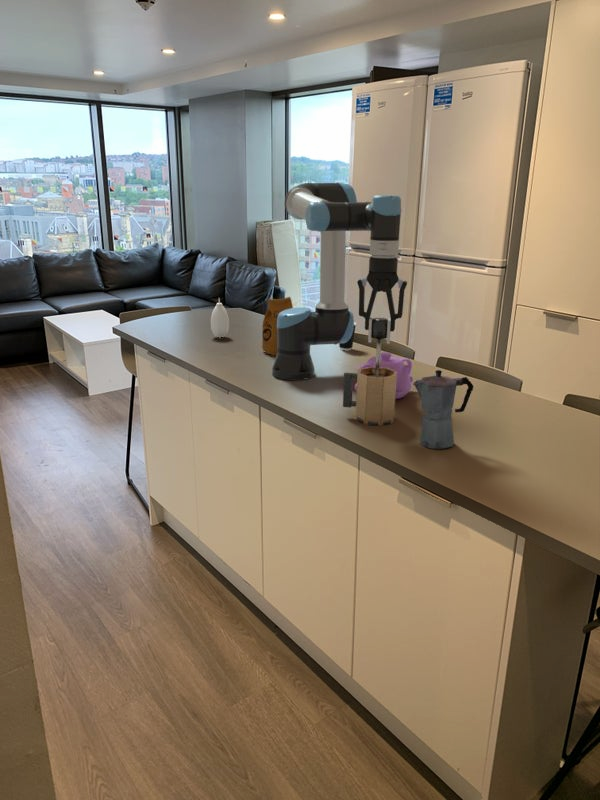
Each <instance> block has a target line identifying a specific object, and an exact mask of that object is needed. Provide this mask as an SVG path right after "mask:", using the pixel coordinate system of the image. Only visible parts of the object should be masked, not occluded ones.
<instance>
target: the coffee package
mask: <svg viewBox="0 0 600 800" xmlns="http://www.w3.org/2000/svg"><path fill="white" fill-rule="evenodd" d="M267 304H268V305H267V308H266V312H265V314H264V318H263V321H262V325H261V326H262V331H261V332H262V334H261V335H262V342H261V343H262V346H261V348H262V351H263V352H264V351H265V352H264V353H266V352H267V353H266V354H268V355H269V354H271V356H276V355H277V317H278V314H279V313H280V312H282V311H284V310H287V309H291V308H294V307H293V301H292V298H291V296H287V297H285V298H282V299H277V298H267Z"/></svg>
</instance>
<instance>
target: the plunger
mask: <svg viewBox="0 0 600 800" xmlns="http://www.w3.org/2000/svg"><path fill="white" fill-rule="evenodd" d="M372 318H373V319H372V335H371V337H372V339H375V340H376V351H375V353H376V354H375V356H376V368H375V375H368V376H369V377H387V376H383V375H379V373H380V356H381V353H382V350H381V349H382V340H385V339H386V340H387V326H388V319H389V318H385V317H372Z"/></svg>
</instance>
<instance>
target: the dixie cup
mask: <svg viewBox="0 0 600 800" xmlns="http://www.w3.org/2000/svg"><path fill="white" fill-rule="evenodd" d="M356 325H357V322H355V321H354V328H353V332H352V336H351V338H350V339H349V340H348V341H347V342H346V343H340V344H338V345H339V346H338V347H339V350H340V351H343V350H345V352H349V350H350V351H352V350H353V346H354V341H355V340H354V338H355V331H356ZM351 349H352V350H351Z"/></svg>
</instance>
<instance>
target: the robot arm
mask: <svg viewBox="0 0 600 800" xmlns="http://www.w3.org/2000/svg"><path fill="white" fill-rule="evenodd" d="M284 209H285V210H286V212H287V214H289V216H290V217H291V218H294V219H296V220H303V221H305V224H306V227H307V229H308V230H309V231H311V232H320V254H319V255H320V260H319V261H320V262H319V264H320V265H319V268H320V269H319V301H318V303H317V304H316V305H315V307H314V308H315V309H314V310H315V311H312V310H311V309H310V308H309V307H293V308H291V309H287V310H284V311H282V312H280V313H279V314H278V317H277V355H275V359H274V362H273V365H272V369H271V370H272V372H271V373H272V376H273V377H274V378H277V379H281V380H286V381H302V380H307V379H311V378H313V377H314V376H315V371H316V370H315V365H314V362H313V359H312V356H311V346H320V345H321V346H322V345H323V346H324V345H339V344H340V343H346V342H347V341H348V340H349V339H350V338H351V336H352V332H353V328H354V322H355V319H354V313H353V311H351V310H350V309H349V304H347V303H346V301H345V291H346V290H345V286H346V284H345V282H346V247H347V241H346V240H347V237H346V236H347V232H370V237H369V238H370V241H369V255H371V256H370V257H369V259H368V261H369V262H368V263H369V264H368V274H367V276H366V277H364V278H359V279H358V280H357V282H356V283H357V286H358V291H359V293H358V315H359V317H363V318H364V330H365V331H368V337H367V339H368V340H367V343H369V344H370V343H372V341H373V338H372V337H371V335H372V319H373V318H374V317H371V315H372V312H373V308H374V304H375V301H376V297H377V294H378V293H379V292H383V293H385V294H386V298H387V299H386V300H387V305H388V310H389V317H390V318H387V319H388V326H387V338H386V344H387V345H390V343H391V332H395V329H396V320H398V319H401V318H403V313H404V312H403V310H404V301H405V299H404V298H405V290H406V288H407V285H408V281H407V280H403V279H400V278H399V276H398V264H399V263H398V262H399V258H398V257H397V256H398V255H399V246H400V228H401V227H400V226H401V213H402V198H401V197H400V195H388V194H387V195H386V194H385V195H384V194H383V195H382V194H380V195H379V194H377V195H374V196H373V197H372V200H371V201H365V202H362V201H361V202H360V201H358V200H357V194H356V192H355V189H354V188H353V186H351V184H349V183H344V182H343V183H341V182H305V183H300V184H297V185H295V186H293V187H292V188H291V189H289V190H288V192H287V193H286V195H285V197H284ZM367 283H368V284H369V285H370V287H371V289H372V290H371V294H370V296H369V297H370V298H369V301H368V305H367V309H366V311H365V299H366V298H365V297H366V295H365V294H366V289H365V288H366V286H367ZM396 284H397V287H398V288H399V290H398V291H399V294H398V303H397V304H398V305H397V313H396V309H395V304H394V297H393V291H392V289H393V288H394V287H395V286H396Z"/></svg>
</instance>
